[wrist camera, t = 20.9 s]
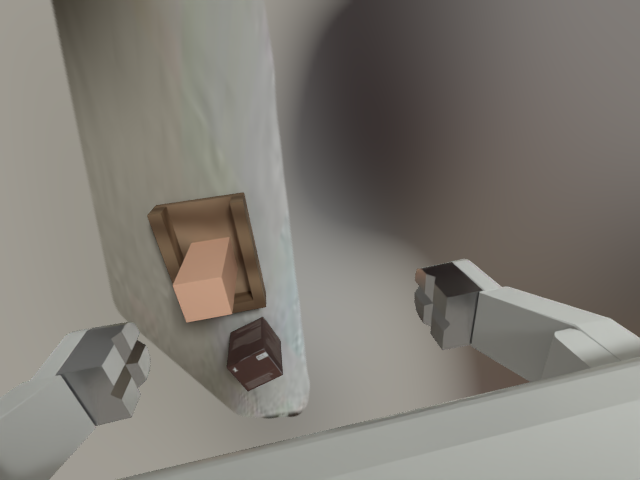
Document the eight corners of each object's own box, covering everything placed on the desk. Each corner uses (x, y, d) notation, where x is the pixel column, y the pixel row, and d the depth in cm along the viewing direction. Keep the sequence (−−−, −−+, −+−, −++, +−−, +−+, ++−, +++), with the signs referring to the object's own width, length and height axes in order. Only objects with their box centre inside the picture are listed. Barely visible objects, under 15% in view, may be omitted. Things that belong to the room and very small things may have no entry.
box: (248, 355, 53) (247, 392, 46) (229, 331, 50) (225, 367, 44) (281, 339, 53) (284, 375, 46) (263, 315, 50) (264, 349, 43)
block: (191, 243, 42) (172, 285, 33) (229, 236, 42) (221, 276, 33) (201, 274, 44) (186, 322, 35) (237, 268, 44) (232, 313, 36)
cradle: (155, 205, 40) (147, 215, 37) (243, 192, 41) (242, 201, 38) (191, 306, 47) (187, 321, 44) (265, 292, 48) (266, 307, 45)
